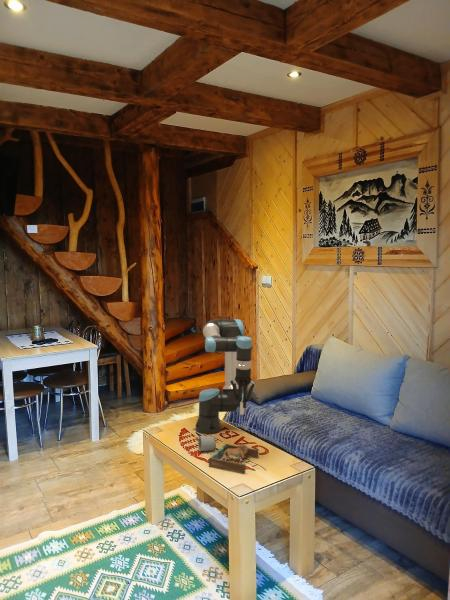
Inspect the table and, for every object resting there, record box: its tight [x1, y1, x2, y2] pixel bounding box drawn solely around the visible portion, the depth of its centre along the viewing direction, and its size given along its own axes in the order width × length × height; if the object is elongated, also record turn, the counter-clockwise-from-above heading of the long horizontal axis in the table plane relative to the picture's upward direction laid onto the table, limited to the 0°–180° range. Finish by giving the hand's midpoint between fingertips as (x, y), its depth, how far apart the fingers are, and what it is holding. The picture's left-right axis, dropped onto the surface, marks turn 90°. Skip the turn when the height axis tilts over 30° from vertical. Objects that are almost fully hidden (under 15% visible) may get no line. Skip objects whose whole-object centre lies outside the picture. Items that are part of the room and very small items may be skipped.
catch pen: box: [208, 443, 259, 474], centre depth 229 cm, size 20×18×4 cm
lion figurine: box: [221, 444, 248, 463], centre depth 231 cm, size 15×5×9 cm
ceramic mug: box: [198, 435, 217, 452], centre depth 244 cm, size 11×8×8 cm
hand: (242, 413), depth 235 cm, fingers closed
